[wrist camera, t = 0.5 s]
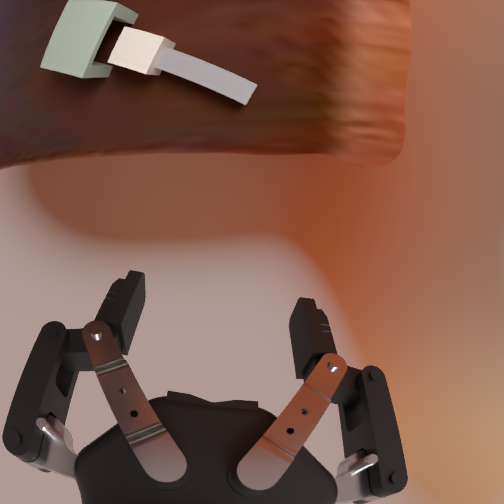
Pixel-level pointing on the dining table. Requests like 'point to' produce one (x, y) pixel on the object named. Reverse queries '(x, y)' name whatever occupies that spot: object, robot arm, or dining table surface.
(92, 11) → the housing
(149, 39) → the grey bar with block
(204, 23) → the dining table surface
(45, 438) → the robot arm
